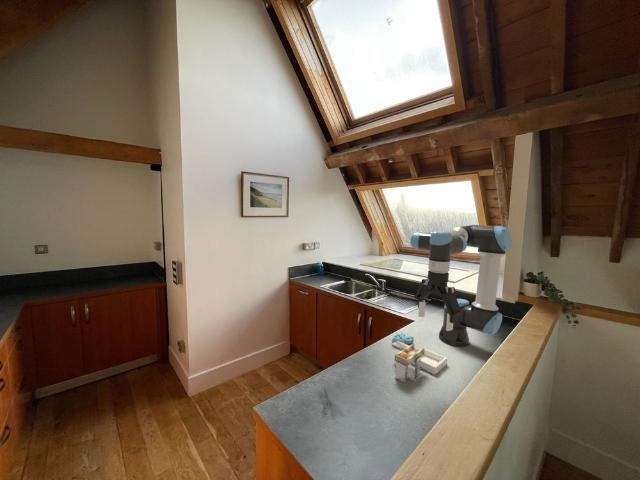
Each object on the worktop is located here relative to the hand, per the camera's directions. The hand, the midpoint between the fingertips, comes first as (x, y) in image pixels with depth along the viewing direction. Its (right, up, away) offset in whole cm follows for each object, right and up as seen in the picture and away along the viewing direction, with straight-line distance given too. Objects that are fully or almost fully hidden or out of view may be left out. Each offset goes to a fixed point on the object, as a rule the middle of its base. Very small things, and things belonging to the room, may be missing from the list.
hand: (434, 323), depth 105 cm
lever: (-9, -17, +12) cm, 23 cm away
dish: (+5, -25, +18) cm, 31 cm away
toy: (-1, -23, +38) cm, 44 cm away
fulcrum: (-8, -26, +9) cm, 28 cm away
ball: (-11, -16, +5) cm, 20 cm away
